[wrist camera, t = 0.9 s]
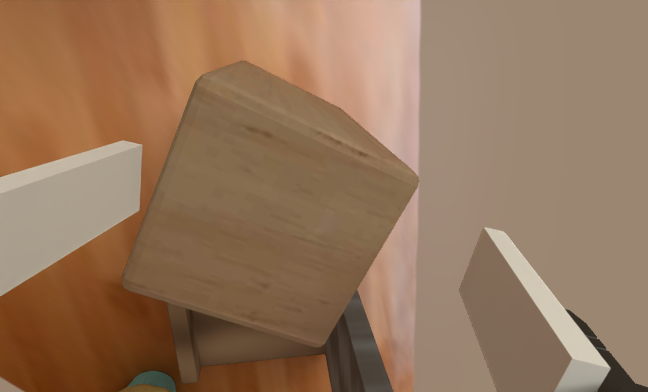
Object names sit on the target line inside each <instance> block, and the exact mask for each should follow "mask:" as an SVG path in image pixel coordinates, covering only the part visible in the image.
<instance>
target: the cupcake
mask: <svg viewBox="0 0 648 392" xmlns="http://www.w3.org/2000/svg"><path fill="white" fill-rule="evenodd" d="M119 392H176V386H175V383H174V381H173V379H172V378H171V377H170V376H169V375H167V374H165V373H163V372H159V371H147V372H143V373H141V374H139V375H137V376H136V377H135V378H134V379H133V380H132V382H131V383H130V384H129V385H128V386H127V387H126V388H124V389H122V390H120V391H119Z"/></svg>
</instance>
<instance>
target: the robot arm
mask: <svg viewBox="0 0 648 392" xmlns="http://www.w3.org/2000/svg"><path fill="white" fill-rule="evenodd" d="M141 163H142V145H141V144H137V143H132V142H128V141H124V140H123V141H119V142H116V143H113V144H109V145H106V146H103V147H99V148H96V149H93V150H89V151H86V152H83V153H79V154H76V155H73V156H69V157H66V158H63V159H59V160H56V161H53V162H49V163H46V164H43V165H39V166H36V167H33V168H29V169H26V170H23V171H19V172H16V173H12V174H9V175H6V176H2V177H0V296H2V295H3V294H5V293H6V292H8V291H10V290H11V289H13V288H15V287H16V286H18V285H19V284H21V283H23V282H24V281H26V280H28V279H29V278H31V277H32V276H34V275H36V274H37V273H39V272H40V271H42V270H44V269H45V268H47V267H49V266H50V265H52V264H53V263H55V262H57V261H58V260H60V259H61V258H63V257H65V256H66V255H68V254H70V253H71V252H73V251H74V250H76V249H78V248H79V247H81V246H83V245H84V244H86V243H87V242H89V241H91V240H92V239H94V238H95V237H97V236H99V235H100V234H102V233H104V232H105V231H107V230H108V229H110V228H112V227H113V226H115V225H117V224H118V223H120V222H121V221H123V220H125V219H126V218H128V217H129V216H131V215H133V214H134V213H136V212H138V211H139V210H140V187H141ZM459 291H460V294H461V297H462V299H463V302H464V305H465V307H466V310H467V312H468V315H469V318H470V321H471V323H472V326H473V328H474V331H475V334H476V336H477V339H478V342H479V344H480V347H481V350H482V352H483V355H484V358H485V360H486V363H487V366H488V368H489V371H490V374H491V376H492V378H493V382H494V384H495V387H496V389H497V392H648V387H645V386H642V385H639V384H635V383H634V381H633V380H632V379H631V378H630V377H629V375H627V373H626V372H625V370H624V369H623V368H622V367H621V366H620V364H619V363H618V362H617V361H616V360H615V358H614V357H613V356H612V355H611V353H610V352H609V351H606V347H605V346H604V345H603V344H602V343H601V341H600V340H599V339H597V336H596V335H595V334H594V333H593V331H592V330H591V329H590V328H589V327H588V325H587V324H586V323H585V322H584V321H582V320H581V319H580V318H578V317H577V316H576V315H575V314H574V313H572V312H571V311H570V310H566V309H564V308H563V306H562V305H561V304H560V302H559V301H558V300H557V299H556V297H555V296H554V295H553V294H552V292H551V291H550V290H549V288H548V287H547V286H546V285H545V283H544V282H543V281H542V280H541V278H540V277H539V276H538V274H537V273H536V272H535V270H534V269H533V268H532V267H531V265H530V264H529V263H528V262H527V260H526V259H525V258H524V256H523V255H522V254H521V252H520V251H519V250H518V249H517V247H516V246H515V245H514V244H513V243H512V241H511V240H510V238H509V237H508V236H507V235H506V233H505V232H503V231H499V230H495V229H490V228H486V227H483V230H482V232H481V235H480V237H479V240H478V242H477V245H476V247H475V250H474V252H473V255H472V258H471V260H470V263H469V265H468V268H467V270H466V273H465V275H464V278H463V281H462V283H461V286H460V288H459Z"/></svg>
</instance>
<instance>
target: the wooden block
mask: <svg viewBox="0 0 648 392" xmlns="http://www.w3.org/2000/svg"><path fill="white" fill-rule="evenodd" d="M418 182H419V177H418V176H417V175H416V173H415V172H414V171H413V170H412V169H410V168H409V167H408V166H407V165H406V164H405V163H403V162H402V161H401V160H400V159H399V158H398V157H397V156H395V155H394V154H393V153H392V152H391V151H390V150H388V149H387V148H386V147H385V146H384V145H383V144H381V143H380V142H379V141H378V140H377V139H376V138H374V137H373V136H372V135H371V134H370V133H369V132H367V131H366V130H365V129H364V128H363V127H362V126H360V125H359V124H358V123H357V122H356V121H355V120H353V119H352V118H351V117H350V116H349V115H348V114H346V113H345V112H344V111H343V110H342V109H341V108H339V107H337V106H335V105H333V104H331V103H329V102H327V101H325V100H323V99H321V98H319V97H317V96H315V95H313V94H311V93H309V92H307V91H305V90H303V89H301V88H299V87H297V86H295V85H293V84H291V83H289V82H287V81H285V80H283V79H281V78H279V77H277V76H275V75H273V74H271V73H269V72H267V71H265V70H263V69H261V68H259V67H257V66H255V65H253V64H251V63H249V62H247V61H239V62H236V63H234V64H231V65H228V66H225V67H223V68H220V69H217V70H214V71H211V72H209V73H206V74H203V75H202V76H201V77H200V78H199V79H198V80H197V81H196V82H195V84H194V87H193V89H192V92H191V95H190V97H189V100H188V102H187V105H186V108H185V110H184V113H183V116H182V118H181V121H180V124H179V126H178V129H177V132H176V134H175V137H174V140H173V142H172V145H171V148H170V150H169V153H168V155H167V158H166V161H165V163H164V166H163V169H162V171H161V174H160V177H159V179H158V182H157V185H156V187H155V190H154V193H153V195H152V198H151V201H150V203H149V206H148V208H147V211H146V214H145V216H144V219H143V222H142V224H141V227H140V230H139V232H138V235H137V238H136V240H135V243H134V246H133V248H132V251H131V254H130V256H129V259H128V261H127V264H126V267H125V269H124V272H123V275H122V281H123V287H124V288H125V289H127V290H128V291H131V292H134V293H138V294H141V295H144V296H147V297H151V298H154V299H157V300H161V301H164V302H167V303H171V304H174V305H177V306H180V307H184V308H187V309H190V310H194V311H197V312H200V313H203V314H207V315H210V316H213V317H217V318H220V319H223V320H227V321H230V322H233V323H236V324H240V325H243V326H246V327H250V328H253V329H256V330H259V331H263V332H266V333H269V334H273V335H276V336H279V337H283V338H286V339H289V340H292V341H296V342H299V343H302V344H306V345H309V346H312V347H321V346H323V345H324V344H325V342H326V341H327V339H328V337H329V336H330V334H331V332H332V330H333V329H334V327H335V325H336V324H337V322H338V320H339V319H340V317H341V315H342V314H343V312H344V310H345V308H346V307H347V305H348V303H349V302H350V300H351V298H352V297H353V295H354V293H355V292H356V290H357V288H358V287H359V285H360V283H361V281H362V280H363V278H364V276H365V275H366V273H367V271H368V270H369V268H370V266H371V265H372V263H373V261H374V260H375V258H376V256H377V254H378V253H379V251H380V249H381V248H382V246H383V244H384V243H385V241H386V239H387V238H388V236H389V234H390V232H391V231H392V229H393V227H394V226H395V224H396V222H397V221H398V219H399V217H400V216H401V214H402V212H403V211H404V209H405V207H406V205H407V204H408V202H409V200H410V199H411V197H412V195H413V194H414V192H415V190H416V189H417V187H418Z"/></svg>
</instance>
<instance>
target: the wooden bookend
mask: <svg viewBox="0 0 648 392" xmlns="http://www.w3.org/2000/svg"><path fill="white" fill-rule="evenodd" d="M167 307H168V313H169V318H170V323H171V329H172V334H173V339H174V344H175V350H176V355H177V360H178V365H179V371H180V376H181V381H182V384H186V383H196V382H198V379H199V375H200V370H201V367H202V366H212V365H221V364H231V363H241V362H251V361H260V360H270V359H280V358H290V357H299V356H309V355H319V354H325V355H326V361H327V366H328V372H329V378H330V383H331V389H332V392H393V389H392V386H391V384H390V381H389V378H388V375H387V372H386V370H385V367H384V364H383V361H382V358H381V355H380V353H379V350H378V347H377V344H376V341H375V339H374V336H373V333H372V330H371V327H370V324H369V322H368V319H367V316H366V313H365V310H364V308H363V305H362V302H361V299H360V296H359V294H358V291H357V290H356V292H355V293H354V295H353V297H352V298H351V300H350V302H349V303H348V305H347V307H346V308H345V310H344V312H343V314H342V315H341V317H340V319H339V320H338V322H337V324H336V325H335V327H334V329H333V330H332V332H331V334H330V336H329V337H328V339H327V341H326V342H325V344H324V345H323V346H321V347H312V346H309V345H306V344H302V343H299V342H296V341H292V340H289V339H286V338H283V337H279V336H276V335H273V334H269V333H266V332H263V331H259V330H256V329H253V328H250V327H246V326H243V325H240V324H236V323H233V322H230V321H227V320H223V319H220V318H217V317H213V316H210V315H207V314H203V313H200V312H197V311H194V310H190V309H187V308H184V307H180V306H177V305H174V304H171V303H167Z"/></svg>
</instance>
